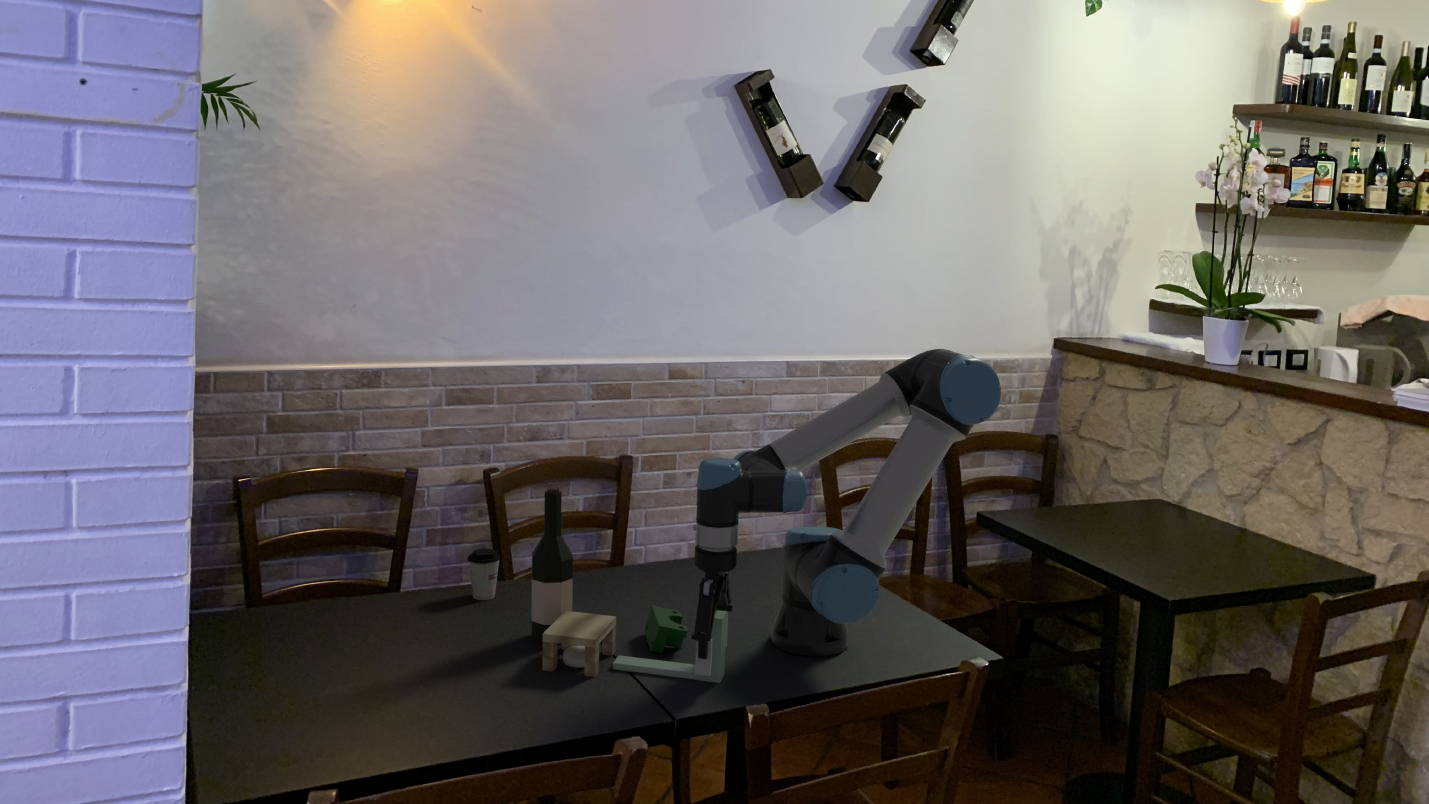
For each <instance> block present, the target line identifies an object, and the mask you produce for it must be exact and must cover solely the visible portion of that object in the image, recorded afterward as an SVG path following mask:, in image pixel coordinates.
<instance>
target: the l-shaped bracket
mask: <svg viewBox="0 0 1429 804" xmlns="http://www.w3.org/2000/svg"><path fill="white" fill-rule="evenodd" d="M727 613H728V611H720V610H716V612H715V617H714V623H713V629H712V634H711V639H712V663H711V675H710V676H706V675H698V674H695V664H692V663H686V662H685V663H682V662H676V661H675V662H674V661H667V660H659V659H652V658H651V659H650V658H642V657H634V656H626V655H625V656H624V655H618V656H617V657H616V658H615V660H614V661H613V662H612V670H615V671H616V670H617V671H625V672H631V673H632V672H634V673H641V674H649V675H657V676H665V677H673V678H682V679H689V680H697V681H701V682H709V683H717V684H720V683H721V681H722V679H723V678H724V676H725V666H726V664H725V663H726V647H725V644H726V618H727ZM704 634H705V633H704Z"/></svg>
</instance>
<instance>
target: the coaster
mask: <svg viewBox="0 0 1429 804" xmlns="http://www.w3.org/2000/svg"><path fill="white" fill-rule="evenodd" d="M563 664H564V665H565V666H567V667H570V668H578V669H579V668H585V646H577V645H575V646H572V647H569V648H567V649H565V650H563Z"/></svg>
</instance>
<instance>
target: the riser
mask: <svg viewBox="0 0 1429 804" xmlns="http://www.w3.org/2000/svg"><path fill="white" fill-rule="evenodd" d="M616 635H617V616H614V615H606V614H597V613H590V612H589V613H588V612H579V611H573V610H572V611H565V612H564V613H563V614H562V615H561V616H560V617H559V618H558V619H557V620H556V621H555V622H554V623H553V624H552V625H551V626H550V627H549V628H548V629H547V630H546V631H545V632H544V633H543V645H542V671H547V672H555V670H556V669H557V668H558V645H557V643H560V644H562V645H561V650H562V651H564V650H565V649H567V648H569V647H572V646H585V667H584V676H586V677H593V678H595V677H596V676H597V675H598V674H599V673H600V672H599V671H600V670H599V668H600V665H599V664H600V643H601V654H602V655H603V656H604V655H605V656H614V654H615V653H616V646H617V645H616V638H617V636H616Z"/></svg>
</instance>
